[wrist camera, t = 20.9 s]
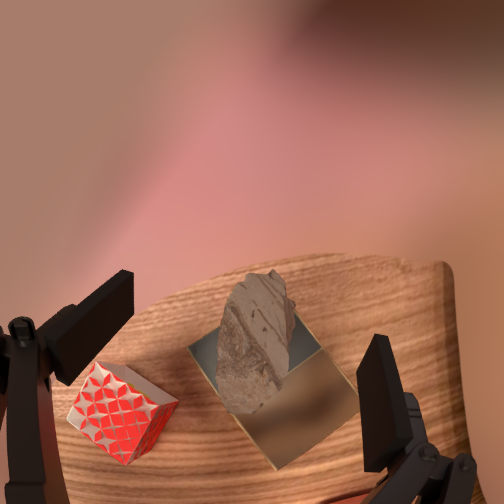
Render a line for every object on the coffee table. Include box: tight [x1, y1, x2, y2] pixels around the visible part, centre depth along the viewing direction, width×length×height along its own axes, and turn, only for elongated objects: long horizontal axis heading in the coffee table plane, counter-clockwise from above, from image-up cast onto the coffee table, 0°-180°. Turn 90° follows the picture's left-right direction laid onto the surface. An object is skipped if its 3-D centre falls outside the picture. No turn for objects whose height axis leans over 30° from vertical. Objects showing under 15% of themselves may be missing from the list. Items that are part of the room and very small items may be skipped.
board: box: [186, 309, 360, 471], centre depth 33 cm, size 18×13×1 cm
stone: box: [215, 269, 295, 415], centre depth 31 cm, size 15×9×10 cm
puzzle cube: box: [66, 361, 179, 466], centre depth 28 cm, size 8×8×8 cm
